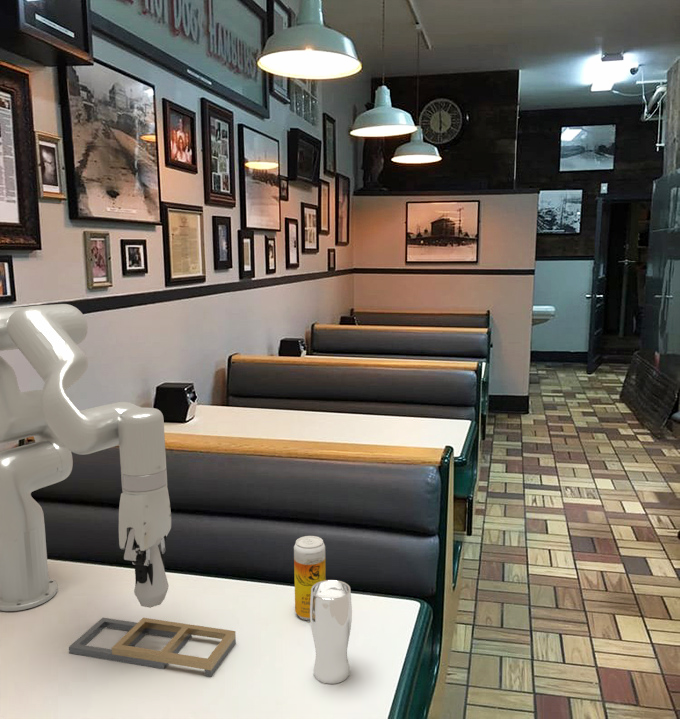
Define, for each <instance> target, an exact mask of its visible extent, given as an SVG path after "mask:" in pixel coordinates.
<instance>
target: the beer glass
mask: <svg viewBox="0 0 680 719" xmlns="http://www.w3.org/2000/svg"><path fill="white" fill-rule="evenodd" d="M351 589H352V588H351V586H350V585H349V584H348V583H346V582H345V581H342V580H337V579H326V580H325V581H321V582H318V583H316V584H314V585H313V586H312V588H311V600H310V620H309V621H310V627H311V628H310V629H311V633H312V634H311V635H312V638H313V643H314V644H313V645H314V648H315V660H314V664H313V665H314V666H313V676H314V678H315V679H316V680H318V681H319V682H321V683H322V684H323V683H324V684H328V685H334V684H335V685H336V684H340V683H342V682H344V681H346V680H347V679H348V678H349V676H350V672H351V670H350V664H349V658H348V647H349V646H348V645H349V641H350V636H351V630H352V623H353V622H352V621H353V604H352V595H351Z"/></svg>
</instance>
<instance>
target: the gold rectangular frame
mask: <svg viewBox="0 0 680 719" xmlns="http://www.w3.org/2000/svg"><path fill="white" fill-rule="evenodd" d="M136 623H137V624H136V625H135V626H134V627H133V628H132V629H131V630H130V631H127V632H126V634H125V635H123V636H122V637H121V638H120V639H119V640H118V641H117V642H116V643H115V644H114V645H113V646H112V647H111V649H112V654H114V655H120V656H126V657H132V658H139V659H145V660H151V661H157V662H163V663H169V664H168V665H175V666H180V667H181V666H182V667H187V668H195V669H199V670H201V669H202V670H204V676H205V677H209V678H212V677H213V676H214V675H215V673H216V671H217V670H218V669H219V667H220V666H221V664H222V663H223V662H224V660H225V659H226V658H227V656H228V654H230V652H231V651H232V649H233V648H234V647H235V645H236V644H237V642H236V640H237V637H236V631H235V630H229V629H223V628H219V627H218V628H216V627H210V626H202V625H198V624H197V625H195V624H190V623H189V624H188V623H183V622H182V623H181V622H175V621H169V620H162V619H156V618H155V619H154V618H147V617H142V618H141V619H140V620H139V621H137V622H136ZM145 628H150V629H157V630H164V631H170V632H177V634H176V635H175V636H174V637H173V638H171V639H170V640H169V641H168V643H166V644H165V646H163V648H162V649H161V650H155V649H152V648H151V649H150V648H145V647H144V648H143V647H137V646H133V647H132V646H128V645H129V644H130V643H131V642H132V641H133V640H134V639H135V638H136V637H137V636H138V635H139V634H140V633H141V632H142V631H143V630H144V629H145ZM188 634H190V635H192V636H199V637H203V638H212V639H217V640H220V642H219V643H218V644H217V645H216V647H215V648H214V649H213V651H212V652H211V654H210V655H208V657H199V656H194V655H189V654H188V655H187V654H181V653H177V654H176V653H173V651H174V650H175V649H176V648H177V647H178V646H179V645H180V643H181V642H182V641H183V640H184V639H185V638H186V636H187V635H188Z"/></svg>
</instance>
